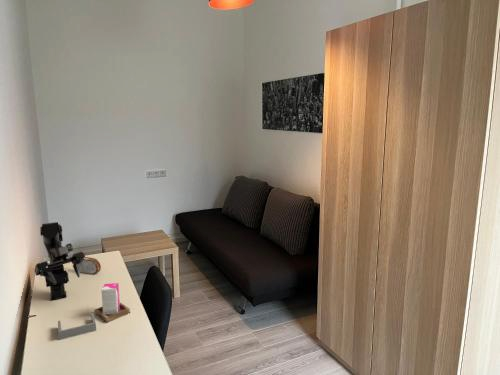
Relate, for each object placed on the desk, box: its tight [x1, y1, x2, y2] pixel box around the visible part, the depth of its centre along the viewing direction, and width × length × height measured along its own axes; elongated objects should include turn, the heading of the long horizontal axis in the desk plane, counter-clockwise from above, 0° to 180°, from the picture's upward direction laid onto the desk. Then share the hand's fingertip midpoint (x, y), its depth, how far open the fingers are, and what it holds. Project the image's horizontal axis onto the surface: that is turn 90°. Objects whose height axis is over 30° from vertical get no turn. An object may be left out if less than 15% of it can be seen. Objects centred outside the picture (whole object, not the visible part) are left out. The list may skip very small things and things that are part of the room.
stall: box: [57, 312, 97, 340], centre depth 141 cm, size 9×13×3 cm
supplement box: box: [101, 282, 121, 316], centre depth 151 cm, size 6×6×12 cm
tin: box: [79, 256, 102, 275], centre depth 193 cm, size 15×3×8 cm, turn 71°
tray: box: [94, 302, 131, 324], centre depth 152 cm, size 10×10×2 cm
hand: (67, 280), depth 152 cm, fingers open, 9 cm apart
